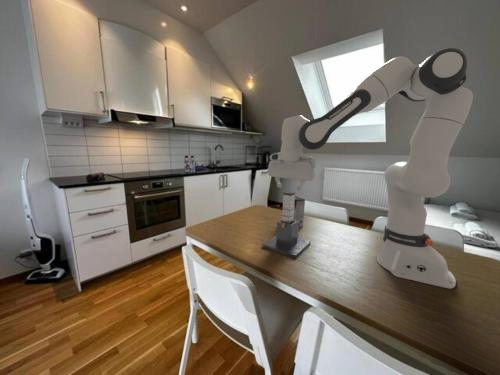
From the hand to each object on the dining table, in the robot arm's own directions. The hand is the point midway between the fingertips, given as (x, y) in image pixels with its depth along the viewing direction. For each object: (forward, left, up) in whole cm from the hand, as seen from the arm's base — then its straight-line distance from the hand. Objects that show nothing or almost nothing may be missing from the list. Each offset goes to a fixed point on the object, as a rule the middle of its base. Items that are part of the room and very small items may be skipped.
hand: (289, 188), depth 88 cm
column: (0, 0, -24) cm, 25 cm away
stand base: (0, 0, -26) cm, 26 cm away
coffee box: (+9, -27, -27) cm, 39 cm away
